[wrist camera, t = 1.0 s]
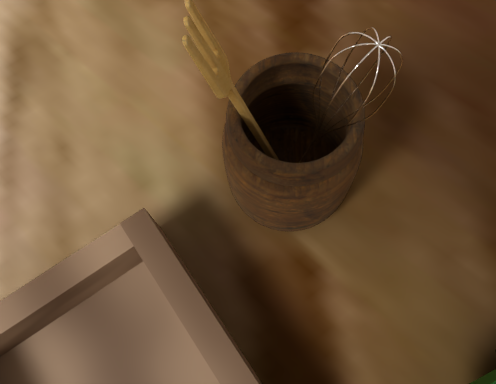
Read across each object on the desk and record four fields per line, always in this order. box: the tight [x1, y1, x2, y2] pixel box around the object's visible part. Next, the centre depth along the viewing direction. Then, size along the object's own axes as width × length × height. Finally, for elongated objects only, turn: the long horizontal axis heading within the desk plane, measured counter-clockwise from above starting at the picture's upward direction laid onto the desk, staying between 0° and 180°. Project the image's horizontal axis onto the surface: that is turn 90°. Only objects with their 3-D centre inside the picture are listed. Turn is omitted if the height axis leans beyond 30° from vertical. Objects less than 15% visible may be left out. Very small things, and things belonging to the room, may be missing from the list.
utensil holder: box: [182, 0, 403, 231], centre depth 18 cm, size 6×6×12 cm
